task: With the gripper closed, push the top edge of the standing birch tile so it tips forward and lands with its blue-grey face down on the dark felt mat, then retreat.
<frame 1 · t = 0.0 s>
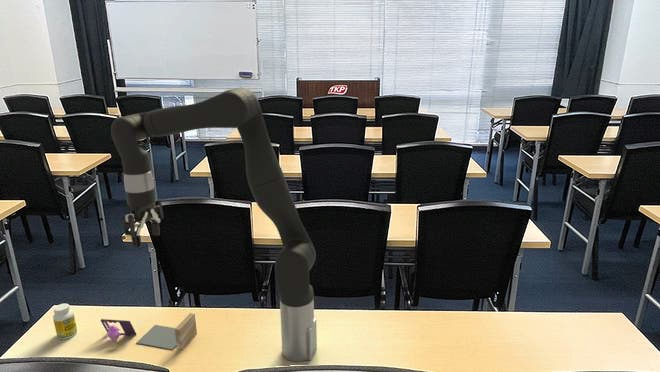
hand: (147, 240, 130), 29 cm above the table, tool pointing down, fingers open, 8 cm apart
felt mat: (163, 337, 134), on the table
supplement bottle: (67, 335, 136), on the table
purple toy case: (118, 339, 134), on the table
tile: (187, 341, 133), on the table
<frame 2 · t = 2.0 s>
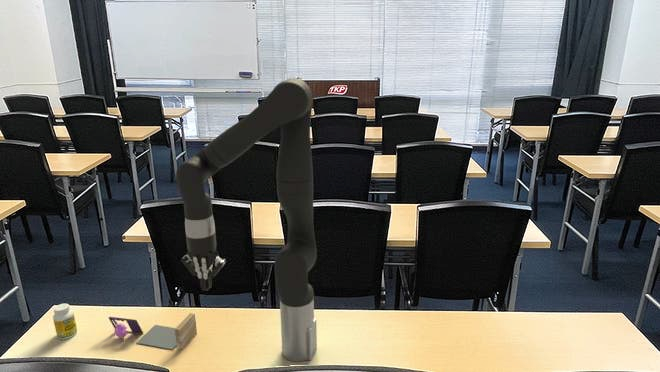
hand: (206, 289, 125), 19 cm above the table, tool pointing down, fingers closed
purple toy case: (125, 337, 135), on the table
everything else where it was.
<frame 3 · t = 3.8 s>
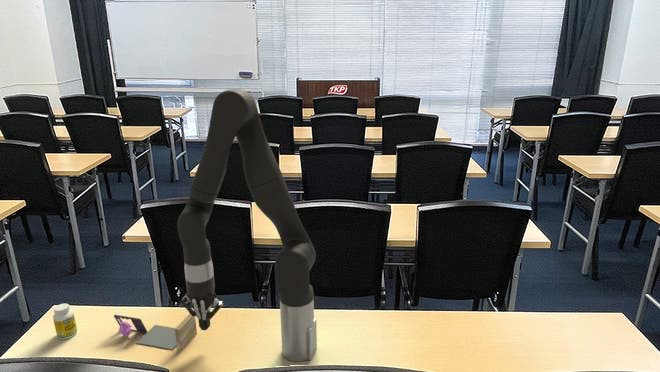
hand: (204, 328, 129), 6 cm above the table, tool pointing down, fingers closed
purple toy case: (130, 335, 136), on the table
everything else where it was.
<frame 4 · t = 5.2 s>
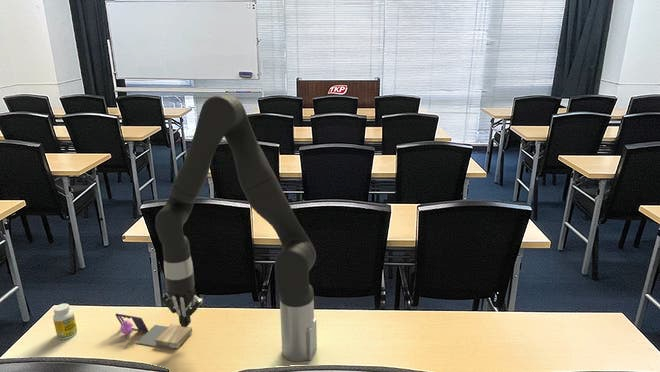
hand: (185, 325, 131), 6 cm above the table, tool pointing down, fingers closed
tile: (184, 337, 132), point 1 cm above the table, tilted 90°, touching felt mat
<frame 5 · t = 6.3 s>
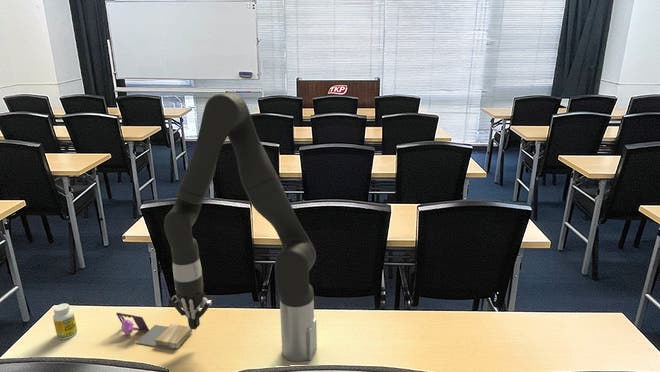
hand: (194, 327, 130), 5 cm above the table, tool pointing down, fingers closed
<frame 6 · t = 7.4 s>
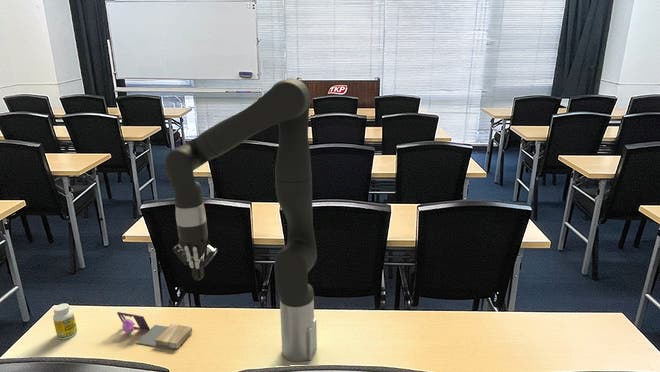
hand: (198, 278, 124), 22 cm above the table, tool pointing down, fingers closed
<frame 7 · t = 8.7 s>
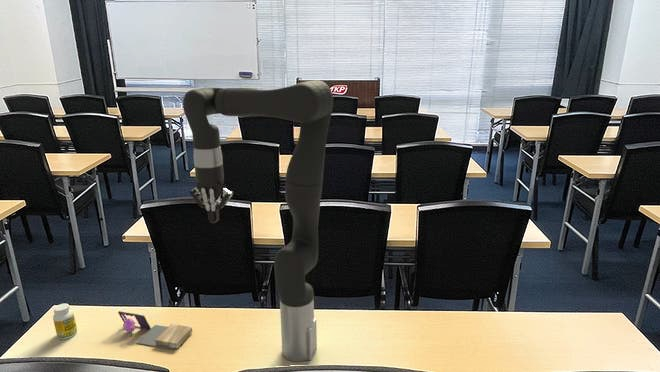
hand: (214, 221, 128), 35 cm above the table, tool pointing down, fingers closed
purple toy case: (134, 332, 137), on the table, touching felt mat
everything else where it was.
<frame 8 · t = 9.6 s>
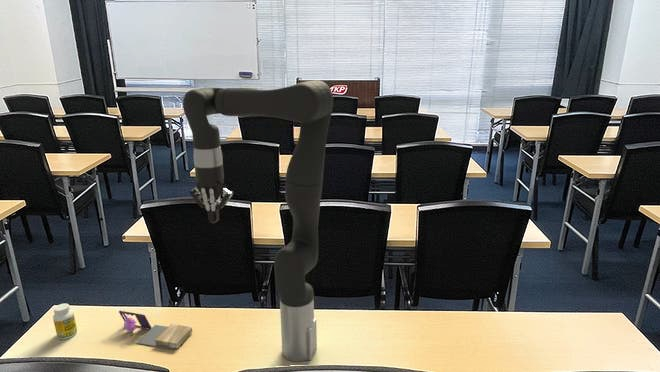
hand: (214, 221, 128), 35 cm above the table, tool pointing down, fingers closed
purple toy case: (134, 331, 138), on the table
everything else where it was.
at the end: tile tilted 90°; tile inside the target area (5.3 cm from its centre), point 1.2 cm above the table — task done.
